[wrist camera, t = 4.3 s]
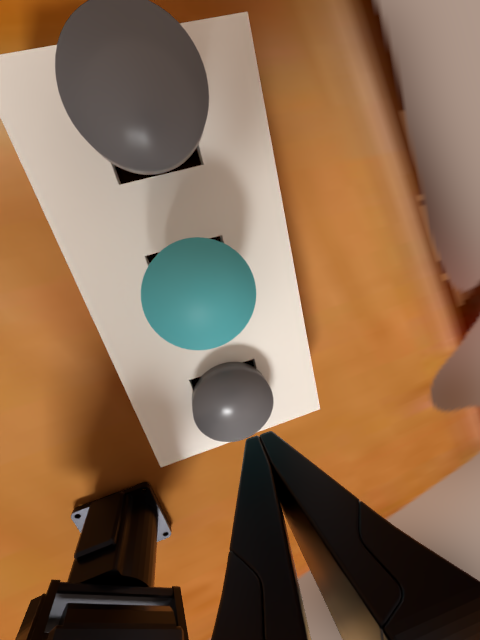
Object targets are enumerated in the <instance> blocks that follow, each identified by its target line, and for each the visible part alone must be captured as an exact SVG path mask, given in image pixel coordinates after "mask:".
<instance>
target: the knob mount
mask: <svg viewBox="0 0 480 640" xmlns="http://www.w3.org/2000/svg"><path fill="white" fill-rule="evenodd" d="M179 24H180V25H181V26H182V27H183V28H184V30H185V31H186V32H187V33H188V35H189V36H190V38H191V39H192V41H193V42H194V44H195V46H196V48H197V50H198V52H199V54H200V57H201V59H202V62H203V64H204V68H205V71H206V75H207V81H208V88H209V108H208V115H207V119H206V123H205V127H204V131H203V134H202V137H201V140H200V142H199V144H198V146H197V151H198V154H199V158H200V162H201V165H200V166H196V167H192V168H187V169H183V170H179V171H175V172H171V173H166V174H162V175H158V176H154V177H150V178H145V179H141V180H137V181H133V182H129V183H125V184H121V183H120V180H119V177H118V174H117V171H116V169H115V166H114V164H112V163H111V162H109V161H108V160H106V159H105V158H104V157H103V156H102V155H100V154H99V153H98V152H97V151H96V150H95V149H94V148H93V147H92V146H91V145H90V144H89V143H88V142H87V141H86V140H85V138H84V137H83V136H82V135H81V134H80V133H79V131H78V130H77V129H76V127H75V126H74V124H73V123H72V121H71V119H70V118H69V116H68V114H67V112H66V110H65V108H64V105H63V103H62V100H61V97H60V94H59V91H58V86H57V81H56V73H55V54H56V48H57V45H52V46H47V47H41V48H35V49H29V50H24V51H18V52H12V53H6V54H1V55H0V118H1V120H2V122H3V124H4V126H5V129H6V131H7V133H8V135H9V137H10V139H11V142H12V144H13V146H14V148H15V150H16V153H17V155H18V157H19V159H20V161H21V163H22V166H23V168H24V170H25V172H26V174H27V177H28V179H29V181H30V183H31V185H32V188H33V190H34V192H35V194H36V196H37V198H38V201H39V203H40V205H41V207H42V209H43V212H44V214H45V216H46V218H47V220H48V222H49V225H50V227H51V229H52V231H53V233H54V236H55V238H56V240H57V242H58V244H59V246H60V249H61V251H62V253H63V255H64V257H65V260H66V262H67V264H68V266H69V268H70V270H71V273H72V275H73V277H74V279H75V281H76V284H77V286H78V288H79V290H80V292H81V294H82V297H83V299H84V301H85V303H86V305H87V308H88V310H89V312H90V314H91V316H92V318H93V321H94V323H95V325H96V327H97V329H98V332H99V334H100V336H101V338H102V340H103V343H104V345H105V347H106V349H107V351H108V353H109V356H110V358H111V360H112V362H113V364H114V367H115V369H116V371H117V373H118V375H119V377H120V380H121V382H122V384H123V386H124V388H125V391H126V393H127V395H128V397H129V399H130V401H131V404H132V406H133V408H134V410H135V412H136V415H137V417H138V419H139V421H140V423H141V425H142V428H143V430H144V432H145V434H146V436H147V439H148V441H149V443H150V445H151V447H152V449H153V452H154V454H155V456H156V458H157V460H158V463H159V465H160V467H164V466H166V465H169V464H172V463H175V462H177V461H180V460H183V459H185V458H188V457H191V456H194V455H196V454H199V453H202V452H205V451H207V450H210V449H213V448H215V447H218V446H221V445H224V444H226V443H229V442H221V441H216V440H213V439H211V438H209V437H207V436H206V435H204V434H203V433H202V432H201V431H200V430H199V429H198V427H197V426H196V424H195V421H194V418H193V410H192V393H193V390H194V387H193V384H192V381H191V379H194V378H197V377H200V376H202V375H203V374H204V373H205V372H207V371H208V370H209V369H211V368H213V367H215V366H217V365H219V364H222V363H226V362H242V363H243V362H246V361H249V360H253V363H254V367H255V368H256V369H257V370H259V371H260V372H261V374H262V375H263V376H264V378H265V380H266V381H267V383H268V384H269V386H270V388H271V390H272V393H273V401H274V403H273V409H272V413H271V415H270V417H269V419H268V421H267V422H266V423H265V425H264V426H263V427H262V428H261V429H260V430H259V431H262V430H265V429H267V428H270V427H273V426H275V425H278V424H281V423H284V422H286V421H289V420H292V419H295V418H297V417H300V416H303V415H305V414H308V413H311V412H314V411H316V410H319V409H320V406H319V400H318V395H317V389H316V384H315V378H314V373H313V368H312V362H311V357H310V351H309V346H308V340H307V335H306V329H305V324H304V318H303V313H302V307H301V302H300V296H299V291H298V285H297V280H296V274H295V269H294V263H293V258H292V252H291V247H290V241H289V236H288V230H287V225H286V219H285V214H284V208H283V203H282V198H281V192H280V187H279V181H278V176H277V170H276V165H275V159H274V154H273V148H272V143H271V137H270V132H269V126H268V121H267V115H266V110H265V104H264V99H263V93H262V88H261V82H260V77H259V71H258V66H257V60H256V55H255V49H254V44H253V38H252V33H251V27H250V22H249V17H248V12H242V13H236V14H231V15H225V16H219V17H213V18H208V19H202V20H196V21H190V22H185V23H179ZM217 236H220V238H221V242H222V243H224V244H226V245H228V246H230V247H231V248H233V249H234V250H235V251H237V252H238V253H239V254H240V255H241V256H242V257H243V259H244V260H245V261H246V263H247V264H248V266H249V267H250V269H251V272H252V274H253V277H254V280H255V285H256V303H255V308H254V311H253V314H252V316H251V318H250V320H249V322H248V324H247V325H246V327H245V328H244V329H243V330H242V331H241V333H240V334H238V335H237V336H236V337H235V338H234V339H232V340H231V341H229V342H228V343H226V344H224V345H222V346H219V347H217V348H213V349H208V350H188V349H184V348H180V347H177V346H175V345H173V344H171V343H169V342H167V341H166V340H164V339H163V338H162V337H160V336H159V335H158V334H157V333H156V332H155V331H154V329H153V328H152V327H151V326H150V324H149V322H148V321H147V319H146V317H145V314H144V311H143V308H142V303H141V285H142V280H143V277H144V274H145V272H146V269H147V268H148V266H149V261H148V258H147V255H151V254H154V253H158V252H160V251H161V250H163V249H164V248H165V247H167V246H168V245H170V244H172V243H174V242H176V241H178V240H181V239H185V238H192V237H201V238H213V237H217ZM259 431H258V432H259Z"/></svg>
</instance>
